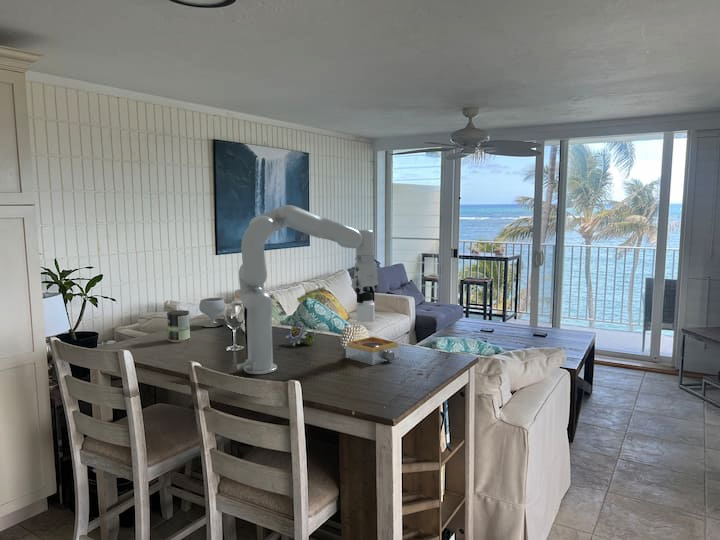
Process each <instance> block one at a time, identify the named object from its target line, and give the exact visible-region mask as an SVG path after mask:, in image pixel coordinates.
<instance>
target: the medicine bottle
mask: <svg viewBox="0 0 720 540" xmlns="http://www.w3.org/2000/svg"><path fill="white" fill-rule="evenodd" d="M362 294H363V303H356V322H358V323H374V322H375V318H376V317H375V313H376V312H375V309H376V308H375V301H373V294H372V293H371V292H368V291H362Z"/></svg>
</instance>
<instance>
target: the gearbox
mask: <svg viewBox="0 0 720 540" xmlns="http://www.w3.org/2000/svg"><path fill="white" fill-rule="evenodd" d="M346 344H347V345H345V358H346V359H349V358H350V359H349V360H353V361H356V360H357V362H360V363H363V362H364V364H368V365H370V366H375V365H377V364H381V362H382V363H384V361H385V362H388V360H389V362H392V361H394V360H395V359H398V357H399V358H400V345H399V342H398V341H393V340H389V339H384V338H380V337H375V336H370V337H369V336H368V337H365V338H361V339H356V340H353V341H352V340H351V341H349V342H347V343H346Z"/></svg>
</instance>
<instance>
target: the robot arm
mask: <svg viewBox="0 0 720 540" xmlns="http://www.w3.org/2000/svg"><path fill="white" fill-rule="evenodd" d="M286 227H288V228H291V229H293V230H296V231H299V232H301V233H304V234H306V235H309V236H311V237H314V238H317V239H323V240H328V241H331V242H335V243H336V244H337V245H338V246H340V247H342V248H345V249H346V248H347V249H353V250H354V249H355V261H356V262H355V266H354V273H353V274H354V275H353V282H352V284H351V285H350V286H351V288H353V291H354V292H355V294H356V302H357V303H356V304H358V303H363V294H362V292H364V288H367V287H368V291H367V292H371V293H372V294H373V302H375V292H376V290H377V287H378V285H379V284H380V281H379V280H378V279H379V278H378V269H377V264H376V263H377V262H375V234H374V230H372V229H359V230H357V229H355V228H353V227H349V226H347V225H345V224H343V223H339V222H337V221H334V220H331V219H329V218H326V217H322V216H320V215H318V214H315V213H313V212H311V211H309V210H306V209H303V208H301V207H299V206H296V205H292V204H291V205H290V204H287V205H282V206H280V207H279V206H278V207H276V208H274V209H271V210H269V211H266V212H264V213H262V214H260V215H257V216H254V217H253V218H251V220H250V222H249V224H248V227H247V228H246V230H245V232H244V234H243V236H242V237H241V244H240V245H241V247H240V248H241V250H240V251H241V263H242V264H241V265H240V266H239V269H238V281H239V290H240V297H241V302H242V304H243V306H244V307H245V308H246V310H247V311H246V334H247V335H246V336H247V339H246V340H247V358H246V359H245V361H244V362H243V363H238V364H236V369H237V370H242V369H243V370H244V373H246V374H250V375H264V374H271V373H272V372H275V371H276V370H278V365H277V364H275V363H274V357H273V356H274V353H273V350H274V349H273V325H272V324H273V299H272V297H271V296H270V294H269V293H268V291H265V286H264V284H265V283H266V282H267V279H268V270H267V265H266V257H265V245H266V242H267V240H268V239H269V238H271V236H273V235H274V234H275V232H278V231H280V230H282V229H284V228H286Z"/></svg>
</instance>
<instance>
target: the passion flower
mask: <svg viewBox="0 0 720 540" xmlns="http://www.w3.org/2000/svg"><path fill="white" fill-rule="evenodd" d="M307 330H309V326H304V324H303V322H300V324H297V325H295V326H292V327H291V328H290V330H289V332H288V334H287V335H285V339H289V340H290V342H289V343H290V344H291V345H292V347H294V346H297V344H298V345H300V344H301V343H302V340H303V342H304V343H307V344H308V346H310V345H311V346H312V343H313V344H314V342H315V341H314V340H315V339H314V337H313V336H312V335H310V333H313V335H314V336H316V333H315V331H314V330H311V331H310V332H308V331H307ZM305 340H306V341H305Z"/></svg>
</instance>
